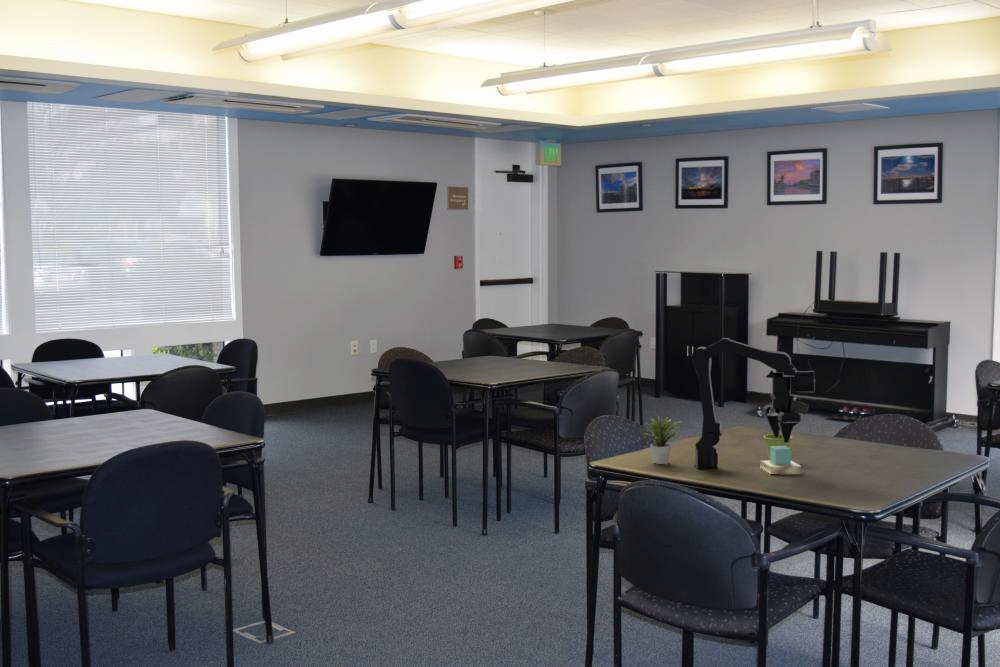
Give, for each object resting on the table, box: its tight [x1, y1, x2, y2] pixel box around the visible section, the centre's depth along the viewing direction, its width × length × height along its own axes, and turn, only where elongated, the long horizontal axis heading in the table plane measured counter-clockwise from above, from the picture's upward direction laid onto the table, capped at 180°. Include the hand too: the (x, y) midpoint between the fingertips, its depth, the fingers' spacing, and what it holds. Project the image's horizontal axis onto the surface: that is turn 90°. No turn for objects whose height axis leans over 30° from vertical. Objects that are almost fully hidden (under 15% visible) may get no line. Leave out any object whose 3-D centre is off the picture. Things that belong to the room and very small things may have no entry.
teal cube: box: [770, 446, 792, 465], centre depth 324 cm, size 5×5×5 cm
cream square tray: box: [759, 459, 802, 475], centre depth 324 cm, size 10×10×3 cm
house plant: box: [642, 415, 683, 465], centre depth 338 cm, size 14×14×16 cm
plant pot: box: [763, 433, 793, 460], centre depth 338 cm, size 9×9×9 cm
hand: (781, 439), depth 324 cm, fingers open, 9 cm apart
